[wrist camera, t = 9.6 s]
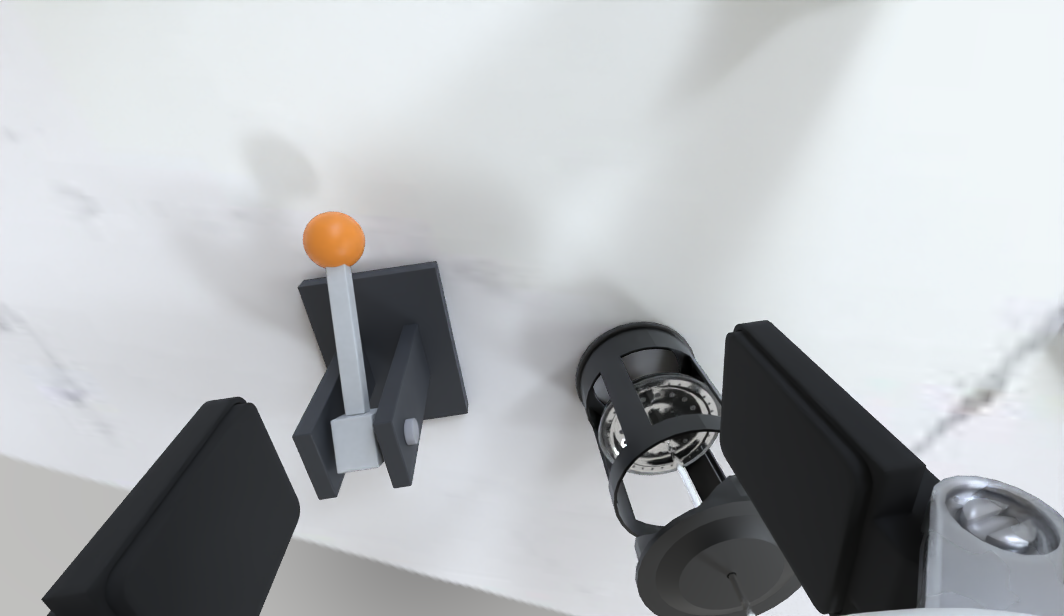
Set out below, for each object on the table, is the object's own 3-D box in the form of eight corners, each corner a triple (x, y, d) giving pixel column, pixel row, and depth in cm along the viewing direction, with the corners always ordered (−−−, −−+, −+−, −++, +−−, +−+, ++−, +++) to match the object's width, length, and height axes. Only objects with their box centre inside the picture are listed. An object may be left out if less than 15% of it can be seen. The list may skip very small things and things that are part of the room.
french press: (544, 370, 38) (614, 725, 18) (641, 291, 36) (850, 593, 16) (636, 452, 43) (776, 812, 22) (727, 386, 41) (978, 720, 20)
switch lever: (313, 222, 29) (288, 210, 26) (368, 214, 29) (349, 201, 26) (346, 461, 29) (324, 478, 26) (401, 452, 29) (386, 468, 26)
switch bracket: (303, 280, 34) (220, 379, 23) (436, 260, 34) (414, 350, 23) (353, 421, 39) (304, 554, 28) (468, 404, 39) (461, 529, 29)
